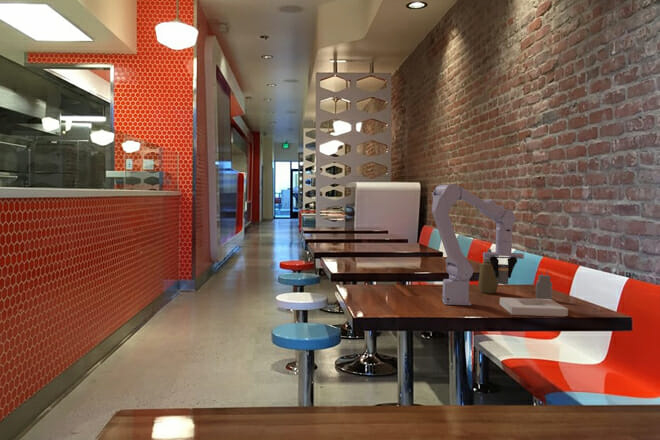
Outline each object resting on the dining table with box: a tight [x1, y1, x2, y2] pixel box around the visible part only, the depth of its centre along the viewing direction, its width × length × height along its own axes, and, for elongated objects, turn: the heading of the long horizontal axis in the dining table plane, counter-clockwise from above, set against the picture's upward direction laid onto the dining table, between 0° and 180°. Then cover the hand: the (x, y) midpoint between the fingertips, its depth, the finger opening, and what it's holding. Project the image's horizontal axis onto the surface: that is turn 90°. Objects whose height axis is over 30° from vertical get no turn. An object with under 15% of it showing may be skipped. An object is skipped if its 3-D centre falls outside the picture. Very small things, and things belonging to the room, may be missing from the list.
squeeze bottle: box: [478, 248, 500, 295], centre depth 221 cm, size 8×8×18 cm
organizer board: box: [499, 297, 569, 317], centre depth 187 cm, size 18×18×2 cm
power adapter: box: [535, 269, 553, 300], centre depth 206 cm, size 3×5×12 cm, turn 58°
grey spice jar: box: [497, 263, 509, 285], centre depth 201 cm, size 4×4×7 cm
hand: (502, 277), depth 201 cm, fingers closed on grey spice jar, 4 cm apart
